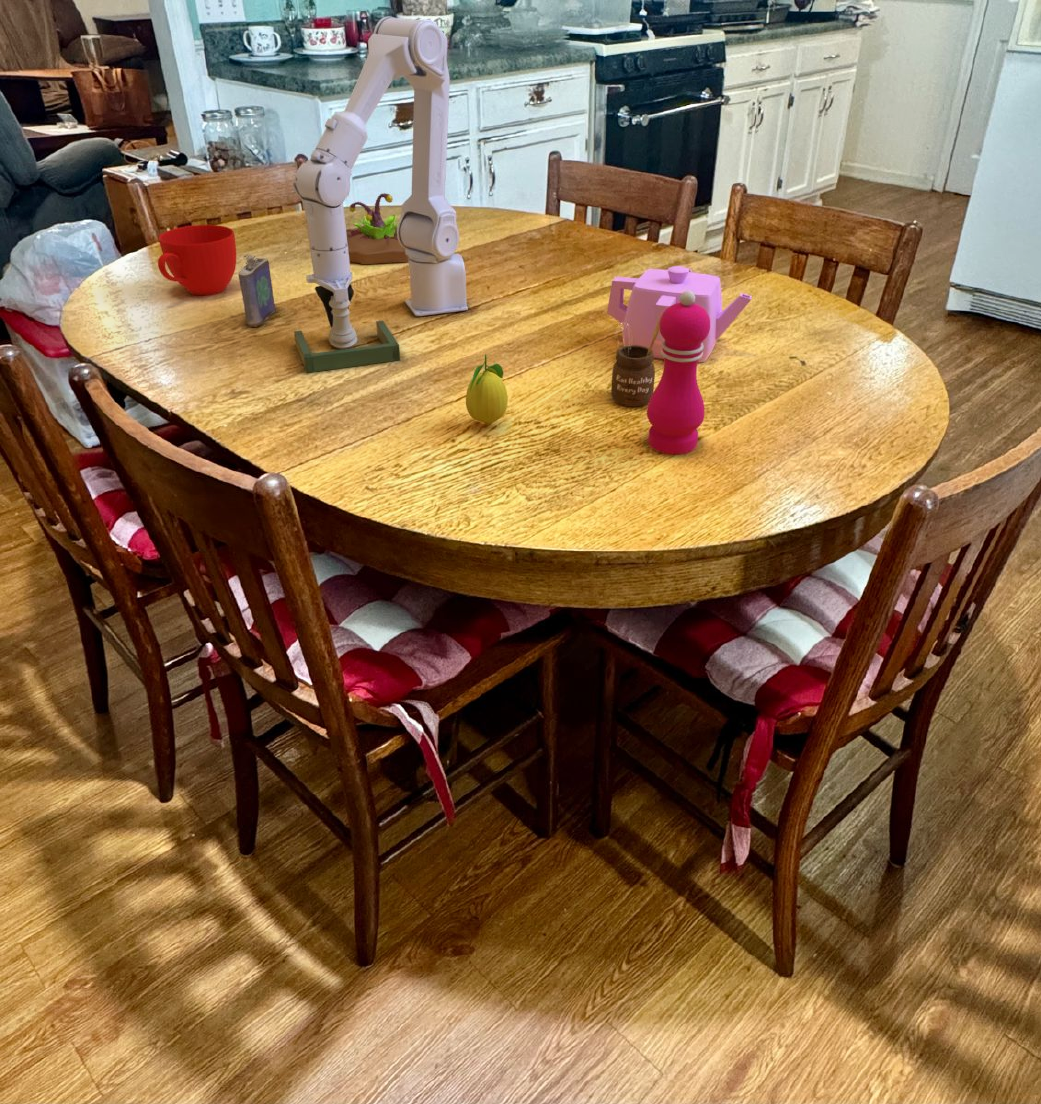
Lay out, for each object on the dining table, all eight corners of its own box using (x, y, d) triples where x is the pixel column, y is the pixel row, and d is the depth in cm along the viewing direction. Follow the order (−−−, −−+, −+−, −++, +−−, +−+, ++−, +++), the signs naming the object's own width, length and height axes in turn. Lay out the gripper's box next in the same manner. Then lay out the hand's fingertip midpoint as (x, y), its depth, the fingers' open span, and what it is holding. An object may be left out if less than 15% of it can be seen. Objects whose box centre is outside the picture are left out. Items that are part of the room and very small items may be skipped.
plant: (423, 264, 178) (419, 206, 172) (325, 264, 179) (317, 206, 172) (432, 236, 195) (429, 182, 188) (343, 236, 195) (336, 182, 189)
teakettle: (598, 336, 147) (602, 260, 140) (685, 320, 153) (693, 246, 146) (655, 374, 134) (663, 293, 127) (747, 355, 140) (759, 276, 133)
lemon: (471, 439, 117) (469, 367, 112) (456, 421, 122) (453, 351, 116) (518, 430, 119) (518, 359, 114) (501, 412, 124) (501, 343, 118)
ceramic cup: (140, 303, 160) (126, 246, 155) (201, 275, 173) (190, 221, 168) (199, 312, 156) (187, 254, 151) (257, 283, 169) (248, 228, 164)
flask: (258, 327, 150) (247, 263, 144) (242, 327, 151) (230, 262, 145) (279, 309, 158) (268, 247, 152) (263, 308, 158) (252, 246, 152)
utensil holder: (609, 389, 130) (614, 308, 123) (653, 390, 130) (660, 309, 123) (611, 407, 125) (616, 324, 118) (656, 407, 125) (664, 324, 118)
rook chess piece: (361, 337, 145) (358, 293, 139) (351, 352, 142) (346, 307, 136) (336, 332, 146) (331, 287, 140) (324, 346, 143) (319, 301, 137)
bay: (384, 334, 148) (383, 320, 146) (400, 360, 139) (399, 344, 138) (296, 346, 144) (293, 331, 142) (306, 373, 135) (304, 357, 134)
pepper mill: (639, 431, 119) (651, 281, 108) (693, 429, 119) (710, 280, 108) (650, 458, 113) (664, 302, 102) (706, 455, 114) (727, 300, 102)
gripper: (295, 235, 142) (307, 318, 150) (309, 261, 131) (321, 350, 138) (340, 231, 144) (349, 313, 152) (357, 257, 133) (366, 344, 140)
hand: (339, 331), depth 145 cm, fingers closed
